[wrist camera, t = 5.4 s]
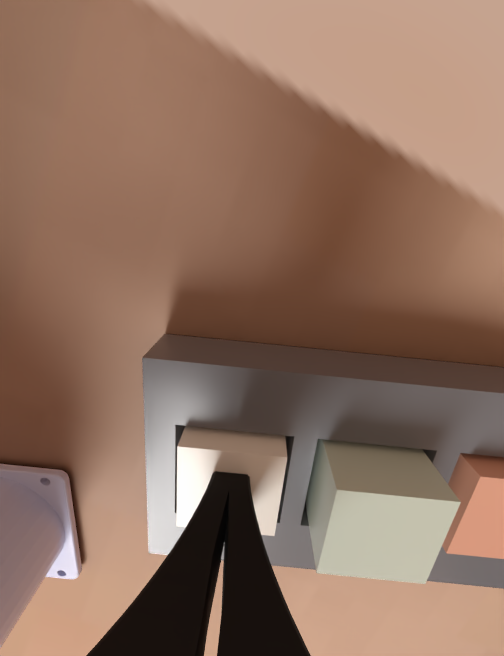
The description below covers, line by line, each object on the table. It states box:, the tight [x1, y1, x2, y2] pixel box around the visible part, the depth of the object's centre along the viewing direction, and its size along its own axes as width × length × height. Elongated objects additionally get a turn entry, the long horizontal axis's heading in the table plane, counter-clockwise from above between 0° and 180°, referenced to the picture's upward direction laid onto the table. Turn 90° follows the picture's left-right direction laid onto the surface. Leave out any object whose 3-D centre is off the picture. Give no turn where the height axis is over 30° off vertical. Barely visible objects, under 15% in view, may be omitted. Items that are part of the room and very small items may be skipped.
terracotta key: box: [442, 453, 504, 559], centre depth 12 cm, size 4×4×3 cm
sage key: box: [305, 439, 461, 584], centre depth 11 cm, size 4×4×3 cm
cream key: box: [176, 426, 287, 536], centre depth 12 cm, size 4×4×3 cm
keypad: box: [142, 334, 504, 589], centre depth 13 cm, size 18×10×2 cm, turn 85°
